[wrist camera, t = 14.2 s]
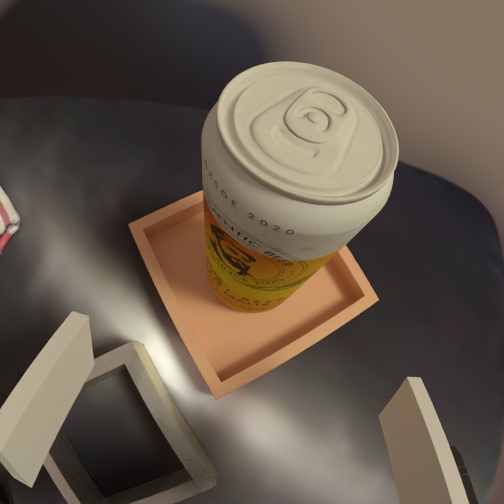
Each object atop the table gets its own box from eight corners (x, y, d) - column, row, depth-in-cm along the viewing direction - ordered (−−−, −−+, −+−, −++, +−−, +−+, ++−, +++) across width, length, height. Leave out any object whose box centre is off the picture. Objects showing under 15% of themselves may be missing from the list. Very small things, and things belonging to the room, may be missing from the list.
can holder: (35, 395, 18) (11, 398, 14) (143, 344, 20) (131, 341, 17) (101, 510, 15) (86, 528, 12) (216, 467, 18) (217, 485, 15)
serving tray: (135, 238, 23) (128, 224, 20) (279, 173, 26) (285, 156, 24) (215, 395, 20) (216, 399, 18) (363, 306, 23) (378, 299, 21)
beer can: (189, 280, 21) (152, 128, 7) (240, 215, 24) (277, 35, 9) (263, 332, 21) (363, 266, 7) (310, 262, 23) (428, 124, 9)
